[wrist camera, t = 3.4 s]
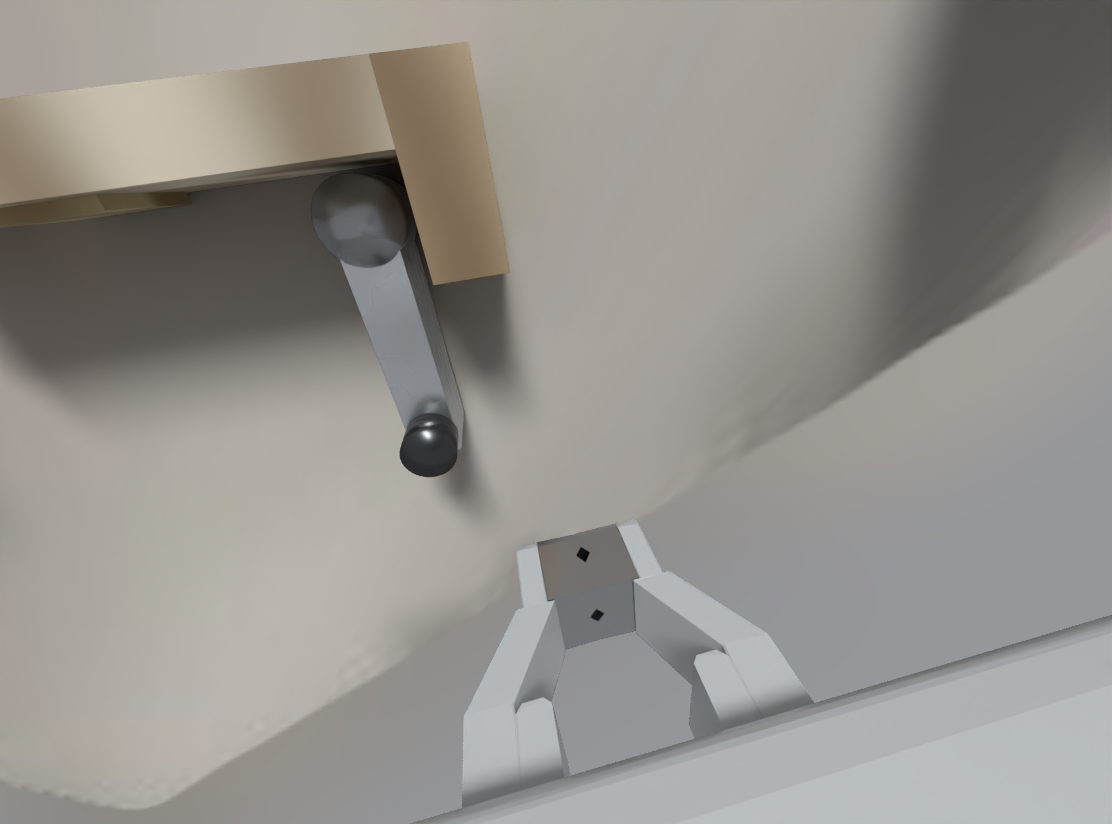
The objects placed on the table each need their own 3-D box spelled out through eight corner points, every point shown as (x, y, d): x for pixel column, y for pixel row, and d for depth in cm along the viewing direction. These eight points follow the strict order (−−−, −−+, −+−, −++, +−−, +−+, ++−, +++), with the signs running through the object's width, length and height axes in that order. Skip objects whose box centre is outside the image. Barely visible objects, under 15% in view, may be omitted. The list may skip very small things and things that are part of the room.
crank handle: (331, 180, 15) (272, 179, 11) (405, 170, 15) (376, 164, 11) (418, 421, 21) (402, 483, 16) (471, 410, 21) (470, 469, 17)
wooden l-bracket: (472, 86, 15) (468, 42, 10) (501, 248, 18) (510, 272, 13) (-141, 166, 13) (-481, 157, 9) (2, 329, 16) (-193, 389, 12)
